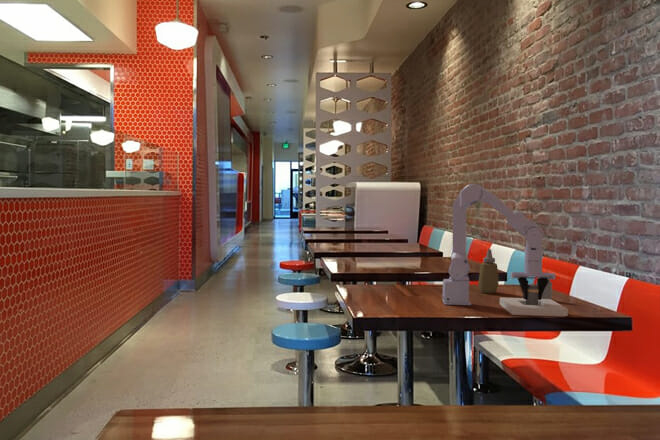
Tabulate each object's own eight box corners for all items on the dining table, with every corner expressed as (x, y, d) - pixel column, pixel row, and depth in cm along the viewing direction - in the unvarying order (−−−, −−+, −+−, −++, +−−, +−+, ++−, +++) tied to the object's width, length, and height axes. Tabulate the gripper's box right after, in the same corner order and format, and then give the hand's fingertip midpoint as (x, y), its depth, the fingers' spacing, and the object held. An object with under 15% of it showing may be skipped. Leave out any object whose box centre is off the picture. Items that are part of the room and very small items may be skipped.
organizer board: (511, 314, 179) (512, 307, 179) (499, 304, 197) (499, 297, 196) (567, 316, 177) (567, 309, 177) (550, 305, 195) (550, 299, 195)
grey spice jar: (527, 306, 185) (528, 286, 185) (524, 304, 189) (524, 284, 189) (539, 307, 185) (540, 286, 184) (536, 304, 189) (536, 284, 189)
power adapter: (536, 299, 209) (537, 268, 208) (551, 300, 206) (552, 269, 205) (535, 300, 206) (536, 269, 206) (550, 301, 203) (551, 270, 203)
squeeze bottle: (500, 292, 223) (502, 249, 222) (495, 295, 216) (496, 250, 215) (481, 290, 227) (482, 248, 226) (475, 292, 220) (476, 249, 219)
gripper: (551, 259, 190) (550, 297, 190) (509, 258, 191) (508, 296, 191) (557, 262, 183) (556, 301, 183) (514, 260, 184) (513, 300, 184)
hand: (532, 299), depth 187 cm, fingers closed on grey spice jar, 4 cm apart
